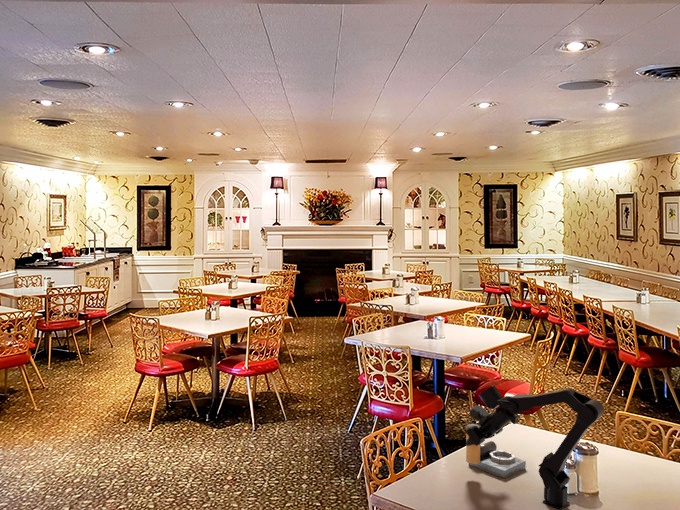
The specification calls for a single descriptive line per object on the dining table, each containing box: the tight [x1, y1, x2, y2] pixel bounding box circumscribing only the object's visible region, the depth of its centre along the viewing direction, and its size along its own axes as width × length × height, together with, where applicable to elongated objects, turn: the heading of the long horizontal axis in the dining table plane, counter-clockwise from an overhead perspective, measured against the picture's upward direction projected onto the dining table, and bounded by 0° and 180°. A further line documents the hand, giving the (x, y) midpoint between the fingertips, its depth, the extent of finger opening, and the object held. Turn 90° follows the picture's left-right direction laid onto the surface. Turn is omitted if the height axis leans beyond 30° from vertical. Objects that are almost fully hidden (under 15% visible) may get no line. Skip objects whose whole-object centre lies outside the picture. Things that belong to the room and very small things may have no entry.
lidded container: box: [465, 423, 481, 464], centre depth 211 cm, size 5×5×13 cm
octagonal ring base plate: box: [468, 440, 527, 479], centre depth 220 cm, size 16×14×7 cm
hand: (470, 442), depth 212 cm, fingers closed on lidded container, 5 cm apart
